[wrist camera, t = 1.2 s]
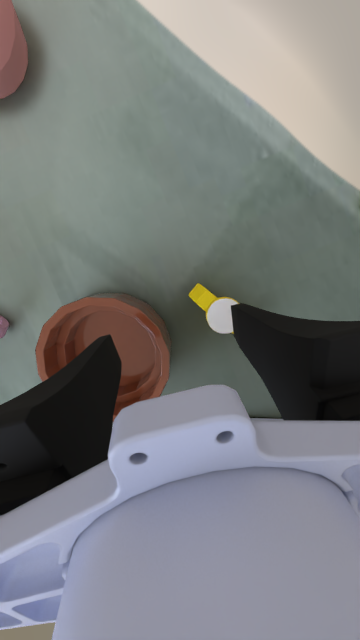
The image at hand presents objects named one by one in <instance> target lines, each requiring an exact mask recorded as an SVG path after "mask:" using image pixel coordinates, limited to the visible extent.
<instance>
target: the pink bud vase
mask: <svg viewBox="0 0 360 640" xmlns="http://www.w3.org/2000/svg"><path fill="white" fill-rule="evenodd" d="M27 65H28V50H27V43H26V40H25V37H24V34H23V31H22V27H21V25H20V22H19V19H18V17H17V14H16V11H15V9H14V6H13V3H12V1H11V0H0V99H3V98H5V97H7V96H8V95H10V94H12V93H13V92H15V91H16V90H17V88H18V87H19V85H20V84H21V83H22V81H23V80H24V77H25V73H26V69H27Z"/></svg>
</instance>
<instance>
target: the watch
mask: <svg viewBox="0 0 360 640" xmlns="http://www.w3.org/2000/svg"><path fill="white" fill-rule="evenodd" d="M189 297H190V298H191V299H192V300H193V301H194V302H195V303H196V304H197V305H199V306H200V307H201V308H202V309H203V310H204V311H205V312H206V320H207V322H208V324H209V326H210V327H211V328H212V329H213V330H214V331H216V332H218V333H223V334H225V333H230V332H232V333H233V323H232V314H231V305H235V304H239V303H238V302H237V301H235V300H234V299H232V298H229V297H219V298H217V297H216V296H215V295H213V294H212V293H211V292H210V291H208V290H207V289H206V288H205V287H203V286H202V285H201V284H199V283H197V284H196V286H195V287H194V288H193V289H192V291H191V292H190V293H189ZM233 334H234V333H233Z"/></svg>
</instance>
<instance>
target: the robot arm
mask: <svg viewBox="0 0 360 640" xmlns="http://www.w3.org/2000/svg"><path fill="white" fill-rule="evenodd" d="M231 314H232V323H233V333H234V337H235V339H236V341H237V343H238V345H239V347H240V348H241V350H242V351H243V353H244V354H245V356H246V357H247V358H248V360H249V361H250V363H251V364H252V365H253V367H254V368H255V370H256V371H257V372H258V374H259V375H260V377H261V378H262V380H263V382H264V383H265V385H266V387H267V389H268V391H269V393H270V394H271V396H272V398H273V400H274V402H275V404H276V406H277V408H278V410H279V412H280V414H281V416H282V418H283V419H268V418H249V415H248V413H247V411H246V409H245V407H244V405H243V403H242V401H241V399H240V397H239V395H238V393H237V391H236V390H234V389H232V388H230V387H228V386H226V385H205V386H201V387H197V388H193V389H189V390H185V391H181V392H177V393H173V394H168V395H164V396H160V397H156V398H152V399H148V400H144V401H140V402H136V403H134V404H132V405H130V406H127V407H125V408H123V409H122V410H121V411H120V412H119V414H118V415H117V417H116V418H115V419H114V423H113V415H114V409H115V404H116V399H117V394H118V390H119V385H120V379H121V368H122V362H121V359H120V357H119V354H118V352H117V349H116V347H115V345H114V342H113V340H112V337H111V335H110V334H109V335H105V336H101V337H99V338H97V339H96V340H95V341H94V342H92V343H91V344H90V345H89V346H88V347H87V348H86V349H85V350H84V351H82V352H81V353H80V354H79V355H78V356H77V357H76V358H74V359H73V360H72V361H71V362H70V363H68V364H67V365H66V366H65V367H63V368H62V369H61V370H59V371H58V372H57V373H55V374H54V375H52V376H51V377H50V378H48V379H47V380H45V381H43V382H42V383H40V384H38V385H37V386H35V387H33V388H32V389H30V390H29V391H27V392H25V393H23V394H21V395H19V396H18V397H16V398H14V399H12V400H10V401H8V402H6V403H4V404H2V405H0V630H2V629H9V628H16V627H23V626H30V625H37V624H44V623H51V622H56V623H55V627H54V631H53V636H52V640H360V321H319V320H308V319H300V318H294V317H289V316H284V315H280V314H276V313H272V312H269V311H265V310H262V309H259V308H256V307H253V306H250V305H246V304H242V303H240V304H235V305H231ZM112 424H113V428H112Z"/></svg>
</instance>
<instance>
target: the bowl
mask: <svg viewBox="0 0 360 640" xmlns="http://www.w3.org/2000/svg"><path fill="white" fill-rule="evenodd" d="M109 334H110V335H111V337H112V340H113V342H114V345H115V347H116V349H117V352H118V354H119V357H120V359H121V362H122V368H121V379H120V385H119V390H118V394H117V399H116V404H115V409H114V415H113V422H114V419H115V418H116V417H117V415H118V414H119V412H120V411H121V410H122V409H123V408H125V407H127V406H130V405H132V404H134V403H136V402H140V401H144V400H148V399H152V398H156V397H160V395H161V393H162V391H163V389H164V387H165V385H166V383H167V381H168V379H169V372H170V363H171V338H170V335H169V333H168V330H167V328H166V325H165V323H164V320H163V319H162V318H161V317H160V316H159V315H158V314H157V313H156V312H155V311H154V310H153V309H152V308H151V307H150V306H149V305H148V304H147V303H146V302H144V301H141V300H139V299H137V298H134V297H132V296H130V295H128V294H125V293H100V294H96V295H92V296H89V297H85V298H82V299H80V300H77V301H75V302H72V303H70V304H67V305H64V306H62V307H61V308H59V309H58V310H57V312H56V313H55V314H54V315H53V316H52V317H51V318H50V319H49V320H48V321H47V322H46V323H45V324H44V325H43V327H42V330H41V333H40V336H39V340H38V343H37V346H36V349H35V352H36V360H37V369H38V375H39V377H40V378H41V380H42V382H43V381H45V380H47V379H48V378H50V377H51V376H52V375H54V374H55V373H57V372H58V371H59V370H61V369H62V368H63V367H65V366H66V365H67V364H68V363H70V362H71V361H72V360H73V359H74V358H76V357H77V356H78V355H79V354H80V353H81V352H82V351H84V350H85V349H86V348H87V347H88V346H89V345H90V344H91V343H92V342H94V341H95V340H96V339H97V338H99V337H101V336H105V335H109Z"/></svg>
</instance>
